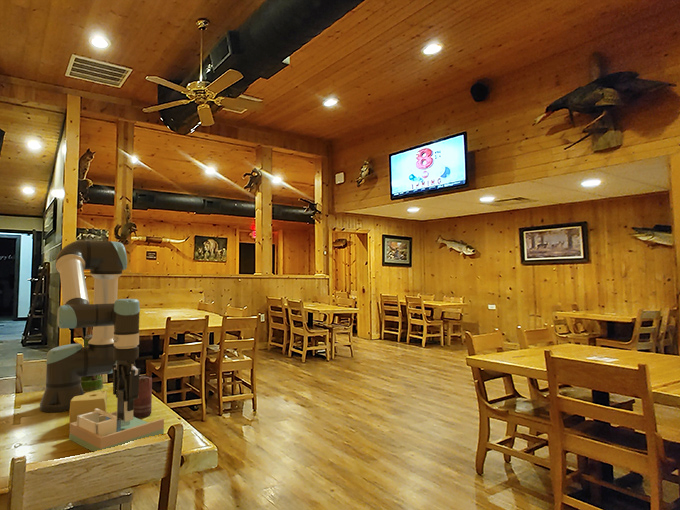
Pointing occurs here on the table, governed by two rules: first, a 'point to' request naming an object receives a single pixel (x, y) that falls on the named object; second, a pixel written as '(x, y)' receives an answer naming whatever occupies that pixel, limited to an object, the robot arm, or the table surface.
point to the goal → (97, 422)
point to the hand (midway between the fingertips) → (124, 418)
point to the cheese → (87, 404)
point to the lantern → (91, 381)
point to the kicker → (121, 410)
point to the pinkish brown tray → (126, 434)
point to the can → (143, 397)
